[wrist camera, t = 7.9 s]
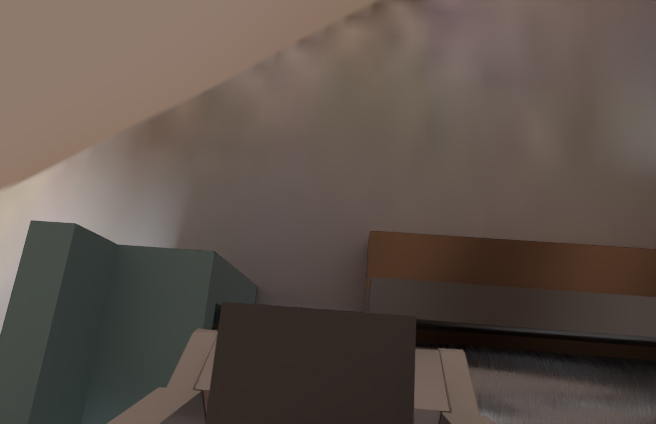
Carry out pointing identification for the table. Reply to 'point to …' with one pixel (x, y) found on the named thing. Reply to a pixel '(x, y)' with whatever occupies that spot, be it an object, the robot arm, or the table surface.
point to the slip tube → (400, 374)
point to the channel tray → (517, 293)
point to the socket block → (102, 322)
